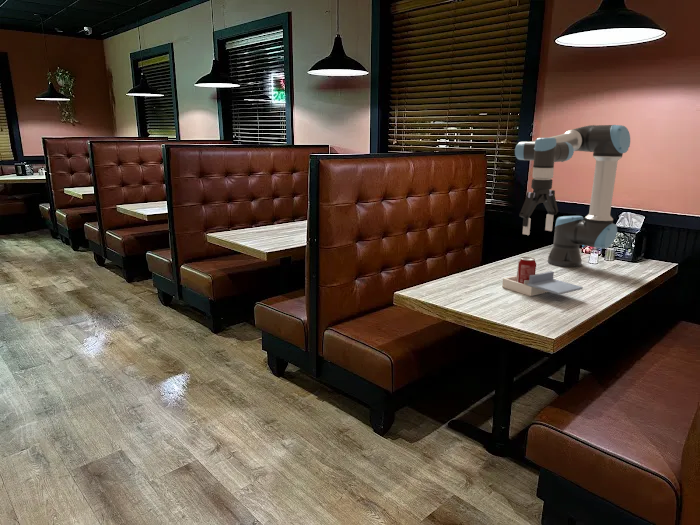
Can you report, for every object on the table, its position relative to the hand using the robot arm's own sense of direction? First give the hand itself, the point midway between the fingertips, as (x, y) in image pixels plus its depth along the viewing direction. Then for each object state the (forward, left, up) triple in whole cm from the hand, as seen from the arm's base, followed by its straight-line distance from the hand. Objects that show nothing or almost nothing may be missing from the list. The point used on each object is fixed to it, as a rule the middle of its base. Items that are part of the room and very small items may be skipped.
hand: (537, 232), depth 198 cm
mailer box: (+4, +1, -22) cm, 23 cm away
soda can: (+5, 0, -22) cm, 23 cm away
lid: (+4, +13, -19) cm, 23 cm away
